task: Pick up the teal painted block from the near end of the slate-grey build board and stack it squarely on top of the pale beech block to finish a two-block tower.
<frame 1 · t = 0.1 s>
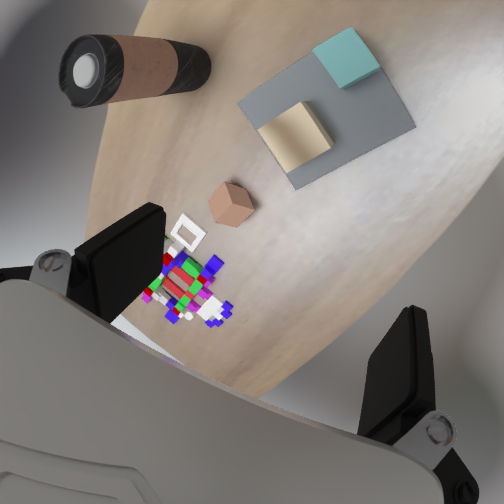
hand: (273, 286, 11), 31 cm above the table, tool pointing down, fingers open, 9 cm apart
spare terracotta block: (222, 214, 44), point 3 cm above the table, tilted 92°
beech block: (302, 132, 36), point 1 cm above the table, touching build board
build board: (325, 109, 35), on the table
teal block: (349, 62, 30), point 1 cm above the table, touching build board
building block set: (188, 280, 58), on the table
travel mug: (189, 68, 38), on the table
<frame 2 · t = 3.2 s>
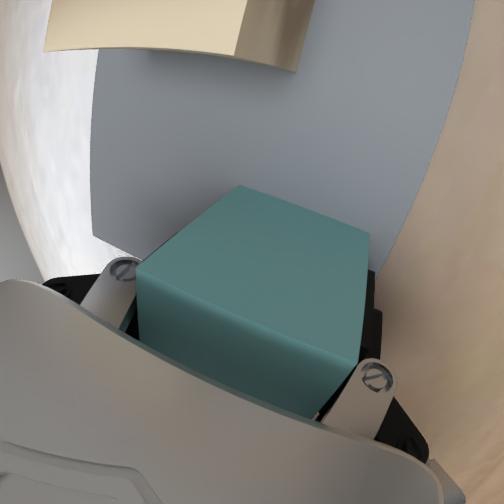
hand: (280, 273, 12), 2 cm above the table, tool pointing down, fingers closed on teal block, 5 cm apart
build board: (244, 86, 10), on the table
teal block: (285, 263, 12), point 1 cm above the table, touching build board, gripper
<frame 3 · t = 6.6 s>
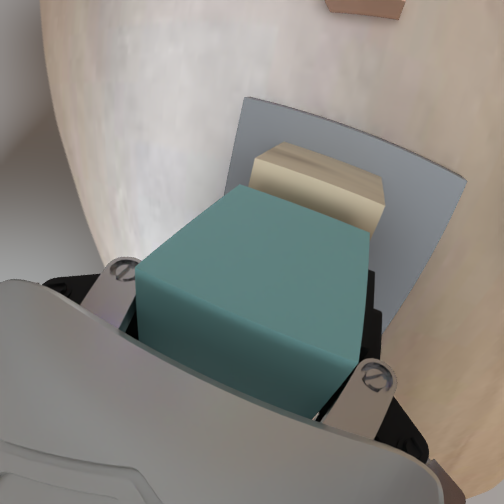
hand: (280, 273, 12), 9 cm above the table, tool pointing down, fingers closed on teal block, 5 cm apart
beech block: (317, 203, 18), point 1 cm above the table, touching build board
build board: (315, 255, 21), on the table
teal block: (285, 263, 12), point 9 cm above the table, touching gripper
when the fingers open (8 cm above the table, at t = 7.3 s): teal block stays where it is, resting on beech block.
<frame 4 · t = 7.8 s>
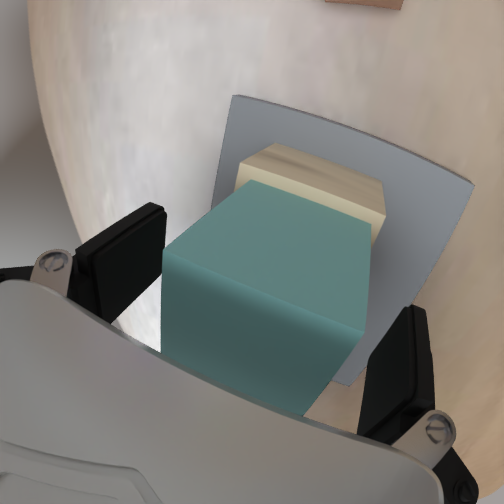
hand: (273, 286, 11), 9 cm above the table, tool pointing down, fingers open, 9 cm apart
beech block: (312, 209, 17), point 1 cm above the table, touching build board, teal block
build board: (310, 263, 20), on the table
teal block: (293, 253, 13), point 6 cm above the table, touching beech block
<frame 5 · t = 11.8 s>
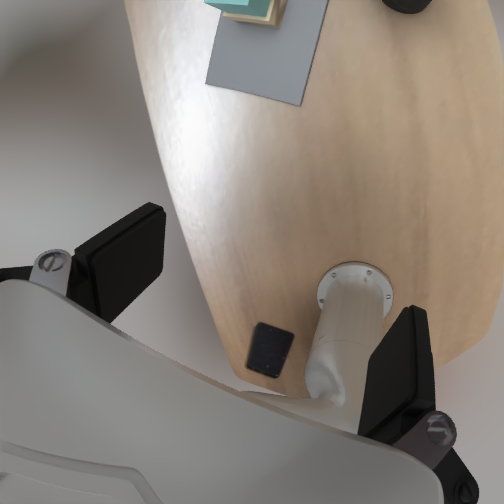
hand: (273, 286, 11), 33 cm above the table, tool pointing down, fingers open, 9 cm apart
beech block: (263, 6, 31), point 1 cm above the table, touching build board, teal block
build board: (266, 34, 34), on the table
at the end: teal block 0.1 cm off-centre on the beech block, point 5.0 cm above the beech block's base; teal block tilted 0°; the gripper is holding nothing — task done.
